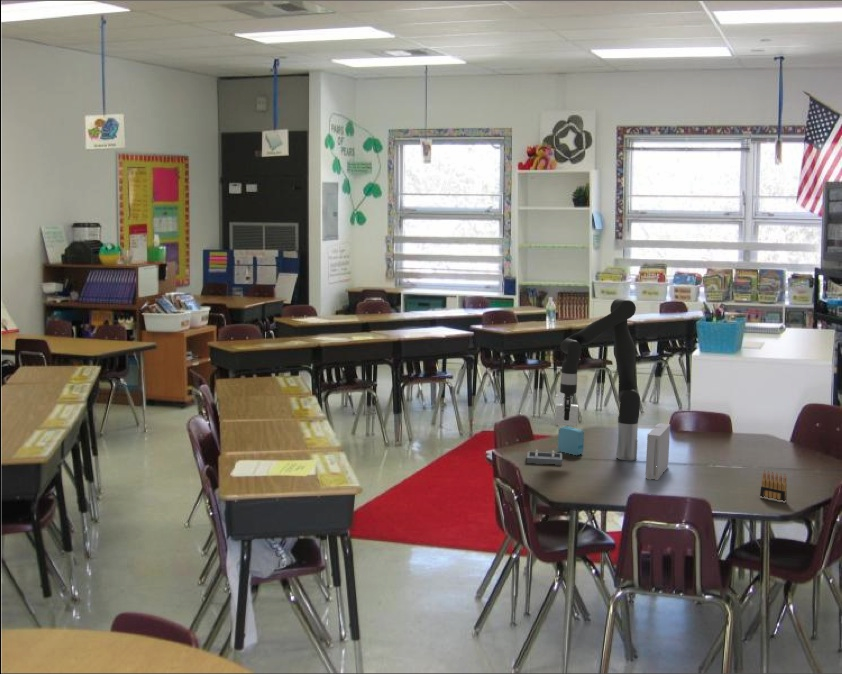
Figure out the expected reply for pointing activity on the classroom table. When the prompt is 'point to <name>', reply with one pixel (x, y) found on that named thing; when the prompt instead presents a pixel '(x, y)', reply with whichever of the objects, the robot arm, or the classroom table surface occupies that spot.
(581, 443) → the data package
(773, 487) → the ammunition clip
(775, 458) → the classroom table surface
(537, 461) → the tray
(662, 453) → the game console
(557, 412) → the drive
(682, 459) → the classroom table surface
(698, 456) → the classroom table surface
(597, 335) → the robot arm
